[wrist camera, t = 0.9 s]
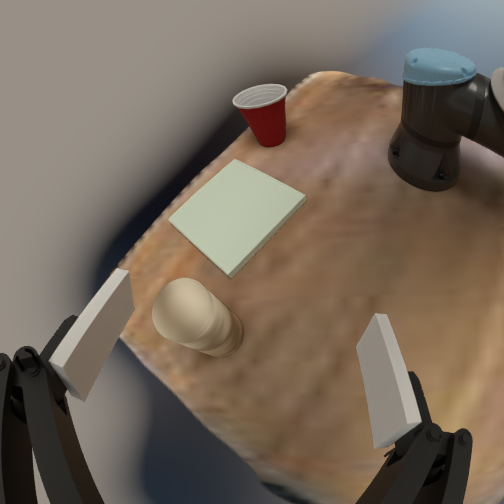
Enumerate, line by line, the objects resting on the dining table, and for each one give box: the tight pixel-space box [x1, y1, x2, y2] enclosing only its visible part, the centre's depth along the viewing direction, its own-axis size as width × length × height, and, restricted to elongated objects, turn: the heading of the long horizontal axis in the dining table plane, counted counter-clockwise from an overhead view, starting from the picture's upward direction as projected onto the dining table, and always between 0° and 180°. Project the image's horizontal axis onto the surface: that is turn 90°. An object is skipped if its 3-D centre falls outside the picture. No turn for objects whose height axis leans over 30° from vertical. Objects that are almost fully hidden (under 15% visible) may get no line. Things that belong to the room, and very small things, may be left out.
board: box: [168, 159, 306, 279], centre depth 47 cm, size 18×18×2 cm
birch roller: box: [152, 278, 244, 357], centre depth 33 cm, size 7×7×12 cm
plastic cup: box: [233, 84, 287, 147], centre depth 51 cm, size 11×11×12 cm
